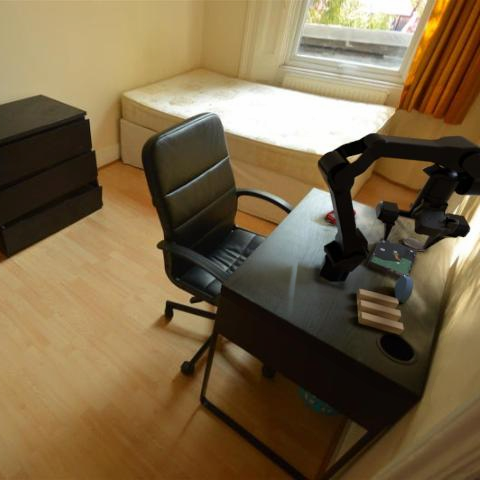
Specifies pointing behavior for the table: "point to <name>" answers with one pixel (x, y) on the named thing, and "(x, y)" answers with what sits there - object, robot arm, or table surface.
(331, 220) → the race car
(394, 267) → the disk drive
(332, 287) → the table surface
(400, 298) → the blue disc
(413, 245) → the decorative disc
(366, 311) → the rack
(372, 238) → the table surface
